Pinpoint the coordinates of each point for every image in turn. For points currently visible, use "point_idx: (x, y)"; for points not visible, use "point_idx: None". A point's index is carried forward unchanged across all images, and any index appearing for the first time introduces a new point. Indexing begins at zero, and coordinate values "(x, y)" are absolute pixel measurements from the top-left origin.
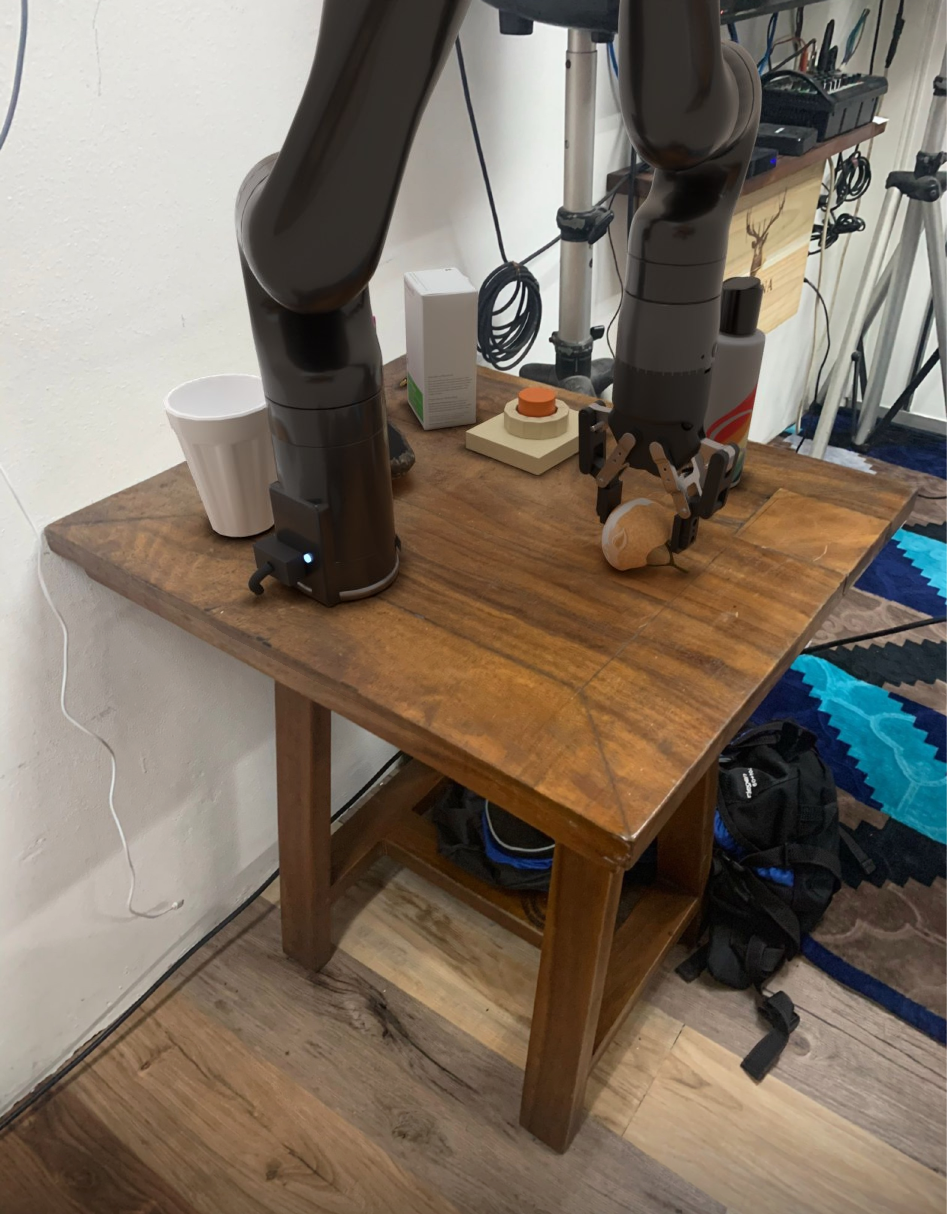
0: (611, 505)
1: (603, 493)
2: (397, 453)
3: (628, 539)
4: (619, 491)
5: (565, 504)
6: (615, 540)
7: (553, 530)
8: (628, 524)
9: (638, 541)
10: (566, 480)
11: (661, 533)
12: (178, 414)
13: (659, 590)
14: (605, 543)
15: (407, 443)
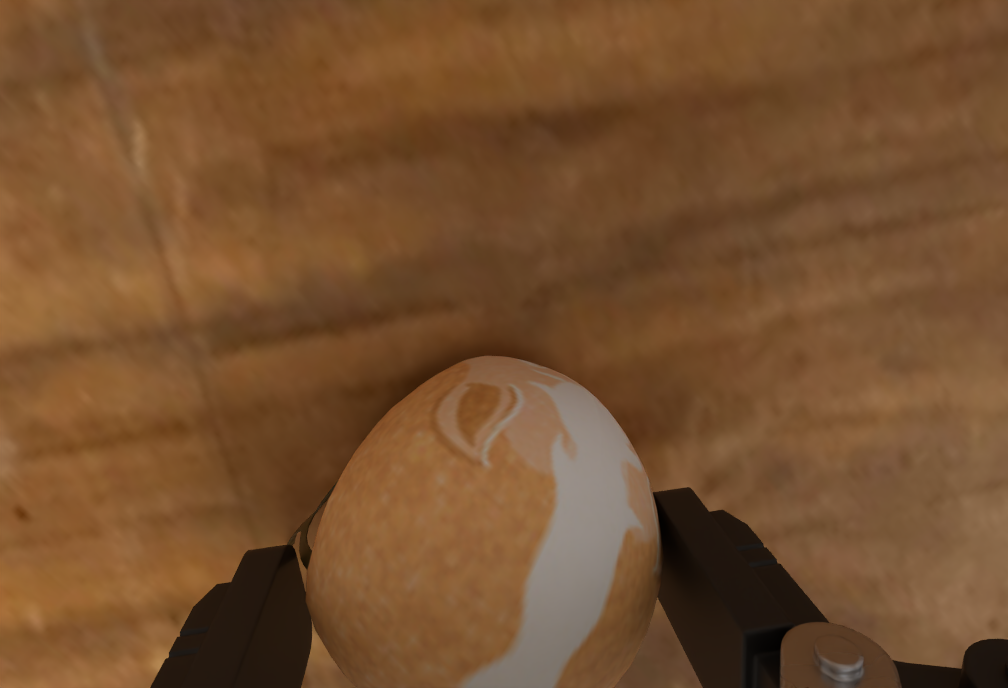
0: (689, 583)
1: (763, 602)
2: None
3: (431, 434)
4: (713, 686)
5: (908, 552)
6: (503, 401)
7: (849, 400)
8: (471, 500)
9: (382, 460)
10: None
11: (320, 582)
12: None
13: (284, 392)
14: (563, 387)
15: None
